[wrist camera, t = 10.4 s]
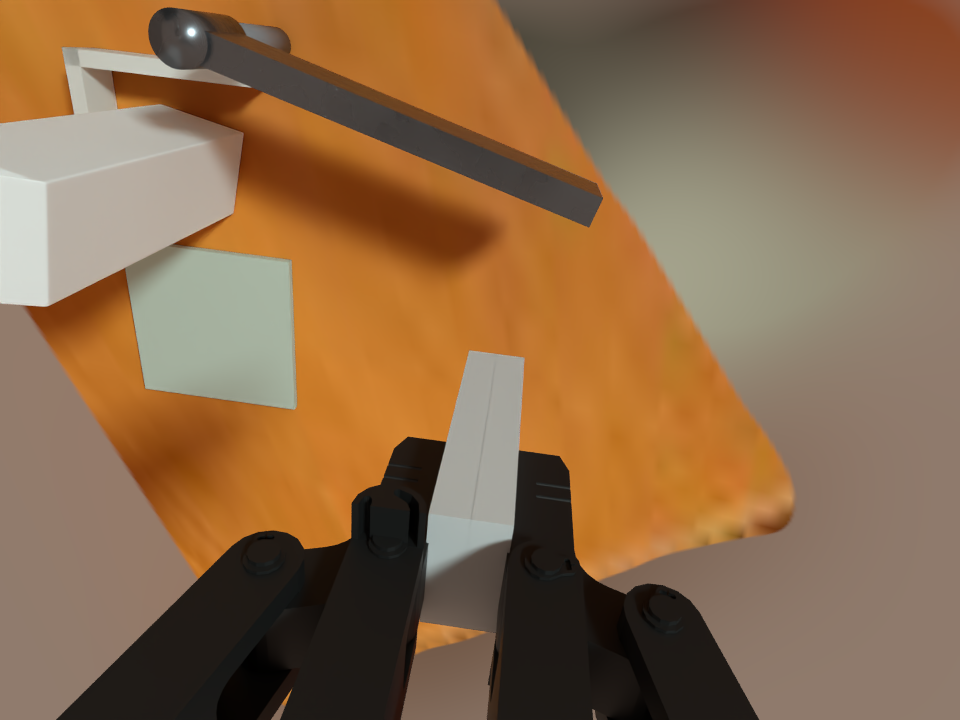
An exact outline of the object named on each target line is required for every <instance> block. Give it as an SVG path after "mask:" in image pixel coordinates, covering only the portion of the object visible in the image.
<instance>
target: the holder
mask: <svg viewBox="0 0 960 720" xmlns="http://www.w3.org/2000/svg"><path fill="white" fill-rule="evenodd" d="M239 24H240V25H241V26H242V28H243V29H244V31H245V33H246V36H249V37H251V38H253V39H256V40H258V41H260V42H263V43H265V44H267V45H270V46H272V47H275V48H277V49H279V50H282V51H284V52H286V53H290V50H291V44H290V40H289V38H288V36H287V34H286V33H285V32H284V31H283V30H281V29H280V28H277V27H271V26H262V25H253V24H245V23H239ZM62 51H63V56H64V62H65V67H66V72H67V78H68V83H69V88H70V94H71V99H72V104H73V110H74V115H76V114H84V113H92V112H100V111H109V110H117V103H116V97H115V90H114V84H113V77H112V71H120V72H128V73H136V74H144V75H152V76H160V77H169V78H177V79H185V80H193V81H201V82H210V83H218V84H226V85H234V86H242V87H250V86H247V85H245V84H243V83H240V82H238V81H235V80H233V79H230V78H228V77H226V76H223V75H221V74H218V73H216V72H214V71H211V70H209V69H193V70H178V69H174V68H171V67H169V66H167V65H166V64H164V63H163V62H162V61H161V60H160V59H159V58H158V57H157V55H149V54H140V53H132V52H124V51H116V50H107V49H99V48H79V47H62Z"/></svg>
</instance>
